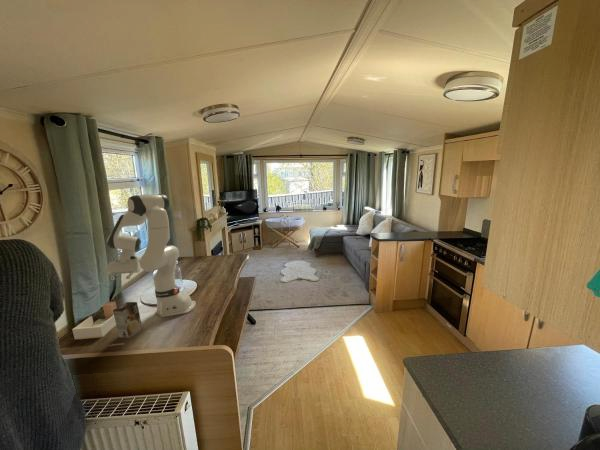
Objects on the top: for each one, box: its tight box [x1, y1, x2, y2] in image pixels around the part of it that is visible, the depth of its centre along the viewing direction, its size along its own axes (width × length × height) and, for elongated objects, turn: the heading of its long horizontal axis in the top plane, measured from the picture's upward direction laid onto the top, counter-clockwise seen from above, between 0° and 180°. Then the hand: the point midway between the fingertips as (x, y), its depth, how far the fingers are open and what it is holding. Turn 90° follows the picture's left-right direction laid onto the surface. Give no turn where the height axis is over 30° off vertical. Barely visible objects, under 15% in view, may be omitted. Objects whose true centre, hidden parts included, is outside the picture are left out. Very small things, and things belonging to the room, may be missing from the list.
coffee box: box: [113, 301, 143, 340], centre depth 138 cm, size 9×6×16 cm
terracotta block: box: [102, 301, 118, 319], centre depth 157 cm, size 4×4×9 cm
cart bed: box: [71, 315, 117, 340], centre depth 142 cm, size 14×13×6 cm
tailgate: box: [93, 318, 109, 324], centre depth 152 cm, size 14×1×5 cm
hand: (120, 279), depth 168 cm, fingers open, 8 cm apart
